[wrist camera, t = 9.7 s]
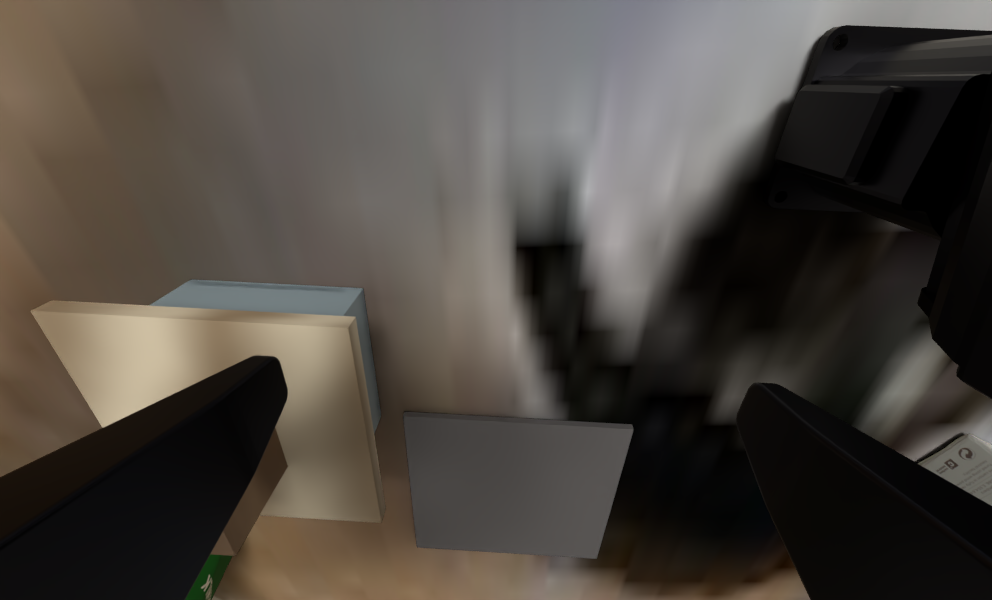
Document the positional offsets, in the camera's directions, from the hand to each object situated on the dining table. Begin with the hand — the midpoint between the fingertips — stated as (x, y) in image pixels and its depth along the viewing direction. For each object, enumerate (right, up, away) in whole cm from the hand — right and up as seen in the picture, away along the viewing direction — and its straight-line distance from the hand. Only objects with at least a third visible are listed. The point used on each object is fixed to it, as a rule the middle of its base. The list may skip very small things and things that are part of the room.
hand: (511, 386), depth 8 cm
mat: (+1, -12, +20) cm, 23 cm away
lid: (-12, -4, +11) cm, 17 cm away
